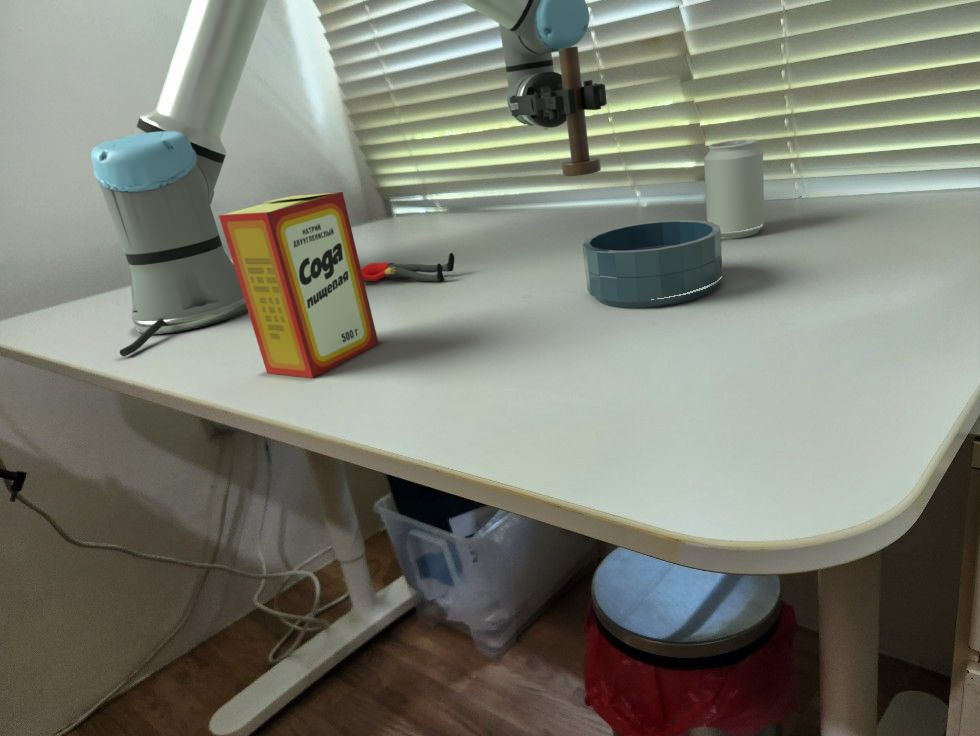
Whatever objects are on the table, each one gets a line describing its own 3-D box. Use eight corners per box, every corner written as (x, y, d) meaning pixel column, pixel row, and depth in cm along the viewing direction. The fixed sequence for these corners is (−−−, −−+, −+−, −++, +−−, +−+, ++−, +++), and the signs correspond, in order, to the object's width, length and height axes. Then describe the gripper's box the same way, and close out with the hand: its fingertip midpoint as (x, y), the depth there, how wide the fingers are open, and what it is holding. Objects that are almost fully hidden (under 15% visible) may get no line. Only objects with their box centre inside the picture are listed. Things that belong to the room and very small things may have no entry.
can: (700, 233, 105) (695, 144, 100) (752, 224, 105) (750, 135, 101) (718, 243, 98) (713, 147, 94) (773, 233, 99) (771, 138, 94)
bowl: (725, 303, 75) (722, 243, 72) (581, 314, 78) (574, 258, 75) (720, 266, 88) (717, 214, 85) (596, 277, 91) (591, 228, 88)
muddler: (598, 173, 96) (585, 44, 90) (560, 177, 97) (545, 50, 91) (602, 167, 100) (590, 45, 94) (565, 172, 101) (551, 51, 95)
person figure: (434, 250, 98) (329, 254, 106) (434, 281, 98) (330, 282, 106) (455, 253, 102) (353, 256, 110) (456, 282, 103) (354, 283, 111)
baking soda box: (312, 378, 71) (265, 208, 65) (267, 373, 75) (217, 211, 68) (378, 343, 79) (341, 187, 72) (334, 340, 82) (295, 191, 75)
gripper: (598, 118, 114) (648, 122, 92) (498, 134, 112) (526, 142, 90) (592, 65, 111) (643, 56, 89) (490, 80, 109) (517, 75, 87)
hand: (584, 99), depth 90 cm, fingers closed on muddler, 2 cm apart
